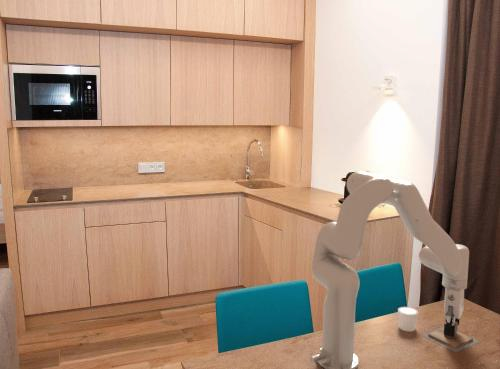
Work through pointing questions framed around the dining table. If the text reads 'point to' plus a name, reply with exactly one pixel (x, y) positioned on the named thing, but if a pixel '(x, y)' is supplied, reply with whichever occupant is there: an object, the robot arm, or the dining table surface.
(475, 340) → the mat
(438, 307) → the dining table surface
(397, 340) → the dining table surface
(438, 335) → the lid
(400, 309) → the pale pink cup
